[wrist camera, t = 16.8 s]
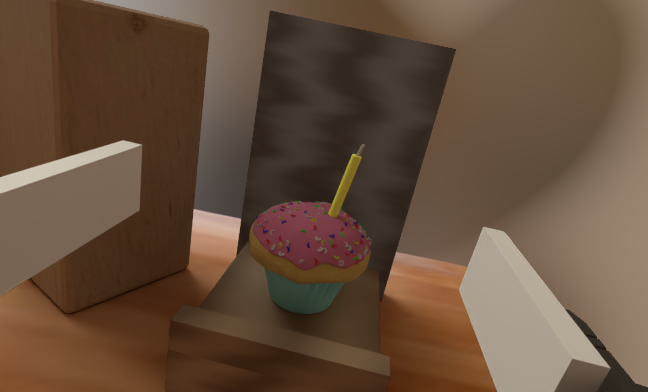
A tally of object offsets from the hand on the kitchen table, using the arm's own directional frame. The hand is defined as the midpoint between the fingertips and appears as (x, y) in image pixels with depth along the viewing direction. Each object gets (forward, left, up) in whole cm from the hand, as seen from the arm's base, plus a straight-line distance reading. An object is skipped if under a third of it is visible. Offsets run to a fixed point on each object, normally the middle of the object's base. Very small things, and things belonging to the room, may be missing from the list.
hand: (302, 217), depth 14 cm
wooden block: (-17, +13, -14) cm, 26 cm away
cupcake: (0, +11, -11) cm, 15 cm away
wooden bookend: (0, +11, -14) cm, 18 cm away
